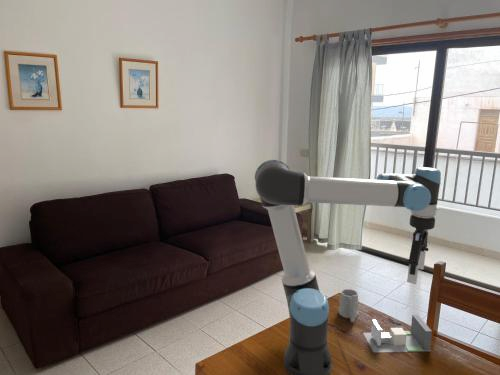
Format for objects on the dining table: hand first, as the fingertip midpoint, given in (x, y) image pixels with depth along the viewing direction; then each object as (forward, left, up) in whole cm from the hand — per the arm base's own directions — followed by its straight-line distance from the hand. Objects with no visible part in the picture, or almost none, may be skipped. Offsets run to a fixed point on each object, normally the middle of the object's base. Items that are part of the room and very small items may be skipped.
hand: (415, 275), depth 130 cm
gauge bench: (-6, -3, -24) cm, 25 cm away
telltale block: (-6, -3, -23) cm, 24 cm away
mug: (-17, +14, -25) cm, 33 cm away
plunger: (-11, -3, -22) cm, 25 cm away
